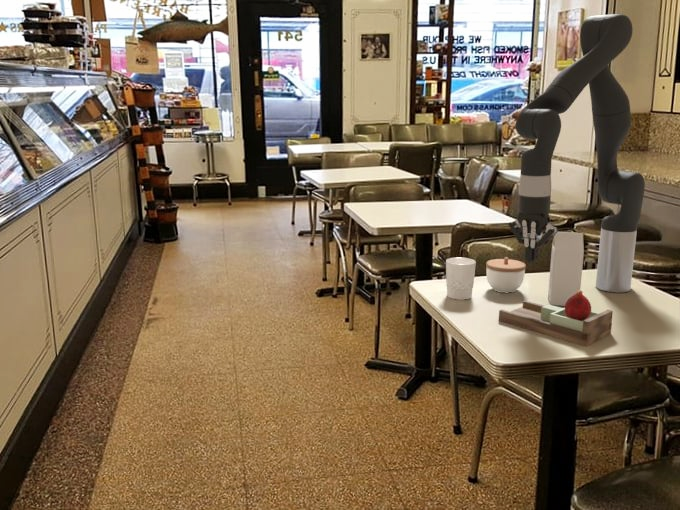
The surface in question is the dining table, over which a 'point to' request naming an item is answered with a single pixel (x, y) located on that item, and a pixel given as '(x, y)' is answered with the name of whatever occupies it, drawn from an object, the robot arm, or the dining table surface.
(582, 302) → the onion
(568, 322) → the sled
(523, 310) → the rail
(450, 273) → the white cup
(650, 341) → the dining table surface
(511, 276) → the lidded jar
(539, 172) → the robot arm
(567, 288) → the milk carton
